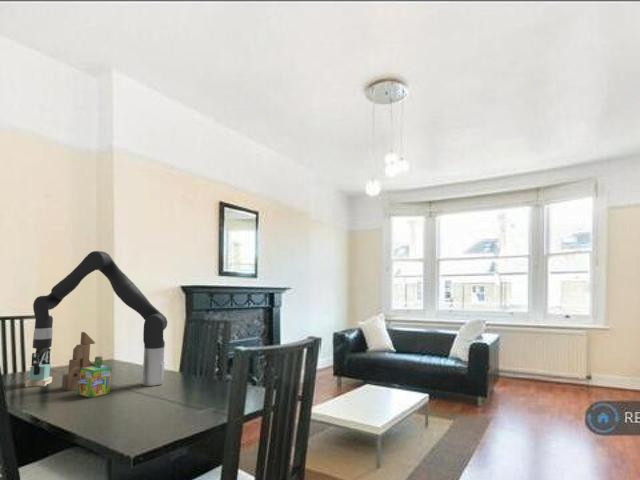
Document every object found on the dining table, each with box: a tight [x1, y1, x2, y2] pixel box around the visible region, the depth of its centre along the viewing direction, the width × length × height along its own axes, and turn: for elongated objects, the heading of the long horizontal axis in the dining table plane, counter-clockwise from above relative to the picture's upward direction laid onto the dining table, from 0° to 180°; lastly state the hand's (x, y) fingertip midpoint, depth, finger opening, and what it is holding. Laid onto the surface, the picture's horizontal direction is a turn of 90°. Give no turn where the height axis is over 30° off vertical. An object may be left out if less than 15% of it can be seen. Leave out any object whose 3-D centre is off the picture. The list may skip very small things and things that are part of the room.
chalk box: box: [78, 359, 113, 399], centre depth 179 cm, size 9×9×15 cm
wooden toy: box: [61, 331, 103, 391], centre depth 192 cm, size 15×7×25 cm, turn 154°
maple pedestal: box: [25, 376, 53, 388], centre depth 194 cm, size 8×8×3 cm
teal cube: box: [29, 363, 51, 380], centre depth 195 cm, size 6×6×6 cm
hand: (39, 372), depth 194 cm, fingers open, 6 cm apart
